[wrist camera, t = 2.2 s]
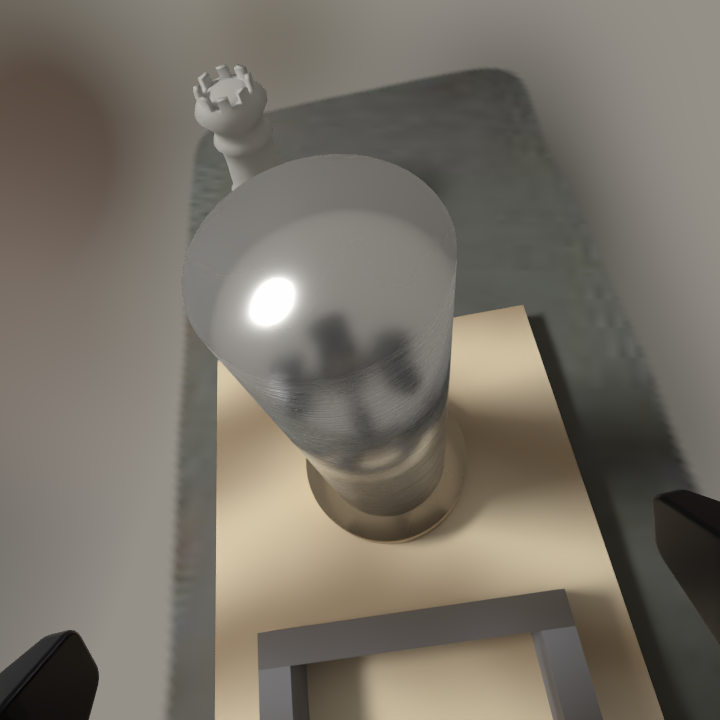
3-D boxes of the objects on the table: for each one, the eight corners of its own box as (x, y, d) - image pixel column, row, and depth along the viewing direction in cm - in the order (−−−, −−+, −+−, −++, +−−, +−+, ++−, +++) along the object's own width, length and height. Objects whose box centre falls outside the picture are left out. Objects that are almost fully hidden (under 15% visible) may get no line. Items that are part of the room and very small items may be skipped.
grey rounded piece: (482, 531, 18) (569, 393, 6) (320, 555, 18) (114, 471, 6) (447, 381, 20) (462, 94, 9) (307, 406, 21) (147, 161, 9)
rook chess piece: (332, 214, 27) (296, 74, 20) (270, 264, 26) (208, 135, 19) (283, 177, 29) (233, 37, 22) (223, 222, 28) (151, 91, 21)
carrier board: (805, 1179, 11) (919, 1354, 9) (227, 1216, 12) (168, 1386, 10) (519, 316, 22) (530, 278, 20) (225, 370, 23) (198, 339, 21)
